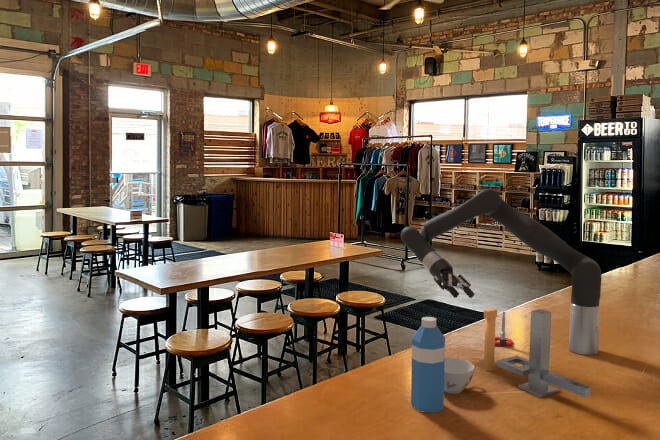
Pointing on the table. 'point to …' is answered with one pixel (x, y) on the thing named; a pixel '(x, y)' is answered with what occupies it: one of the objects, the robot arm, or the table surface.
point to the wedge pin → (489, 339)
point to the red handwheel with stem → (503, 336)
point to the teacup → (457, 374)
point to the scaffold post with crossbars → (541, 362)
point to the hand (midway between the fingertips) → (465, 296)
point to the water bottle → (428, 367)
